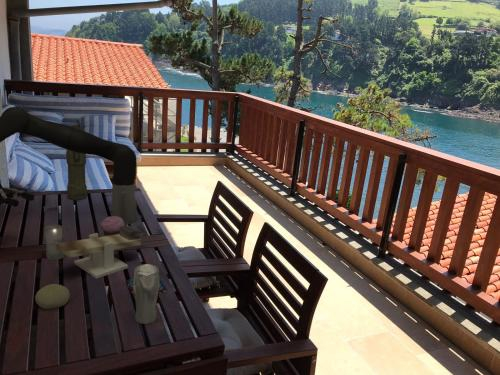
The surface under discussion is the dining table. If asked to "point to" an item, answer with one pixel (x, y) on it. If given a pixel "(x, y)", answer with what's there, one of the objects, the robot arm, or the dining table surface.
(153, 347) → the dining table surface
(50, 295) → the sea urchin shell
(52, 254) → the translucent grey cylinder
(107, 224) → the cupcake
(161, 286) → the woven mat
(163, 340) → the dining table surface
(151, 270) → the beer glass
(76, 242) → the balance beam
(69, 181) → the thermos
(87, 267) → the pivot stand
